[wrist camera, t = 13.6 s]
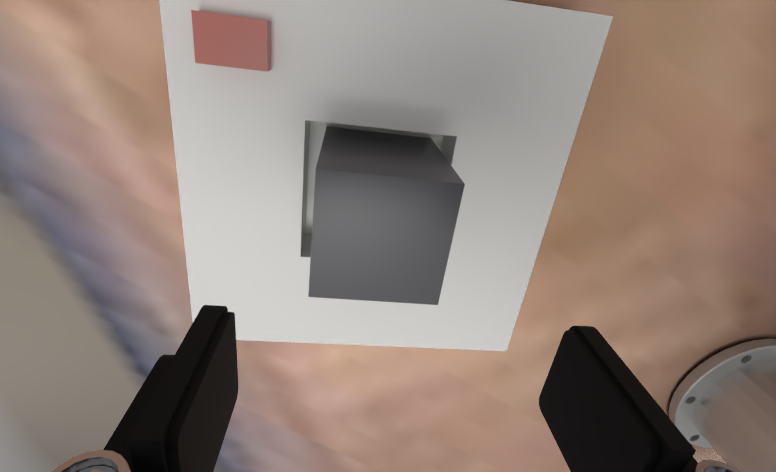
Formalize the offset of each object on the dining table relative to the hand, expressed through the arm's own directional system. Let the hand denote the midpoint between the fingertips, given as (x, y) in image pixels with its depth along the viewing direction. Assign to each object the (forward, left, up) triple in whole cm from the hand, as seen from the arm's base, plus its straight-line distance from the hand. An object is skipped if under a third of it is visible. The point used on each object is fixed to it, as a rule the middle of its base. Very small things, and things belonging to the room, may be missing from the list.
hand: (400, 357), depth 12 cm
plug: (0, 0, -15) cm, 15 cm away
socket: (0, 0, -16) cm, 16 cm away
